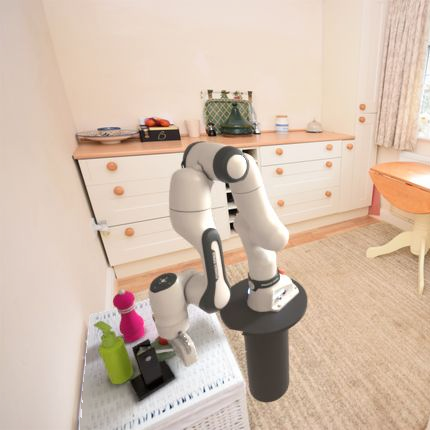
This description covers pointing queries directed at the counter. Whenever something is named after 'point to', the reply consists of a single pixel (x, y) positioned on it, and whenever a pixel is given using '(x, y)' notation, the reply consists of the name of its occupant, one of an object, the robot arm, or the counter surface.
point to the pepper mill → (128, 316)
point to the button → (163, 341)
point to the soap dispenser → (114, 355)
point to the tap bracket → (149, 372)
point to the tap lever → (158, 350)
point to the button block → (162, 355)
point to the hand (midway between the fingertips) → (180, 356)
